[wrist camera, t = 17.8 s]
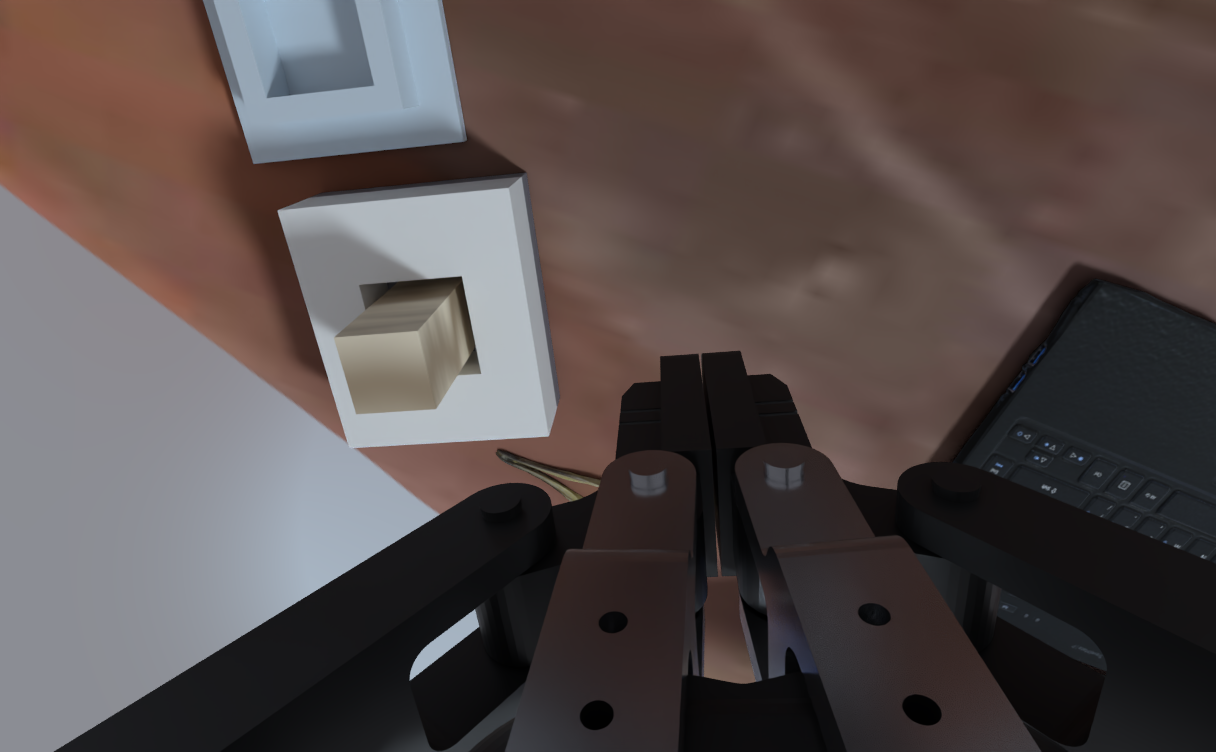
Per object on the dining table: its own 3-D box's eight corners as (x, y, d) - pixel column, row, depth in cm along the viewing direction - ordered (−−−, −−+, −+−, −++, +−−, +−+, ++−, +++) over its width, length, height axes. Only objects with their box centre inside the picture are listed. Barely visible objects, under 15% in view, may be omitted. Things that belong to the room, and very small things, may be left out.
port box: (316, 193, 39) (271, 211, 35) (526, 172, 38) (508, 187, 33) (376, 409, 45) (344, 448, 40) (560, 397, 44) (548, 436, 39)
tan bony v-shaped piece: (501, 431, 46) (496, 447, 44) (679, 488, 47) (681, 506, 46) (484, 479, 48) (479, 496, 46) (657, 532, 49) (658, 551, 47)
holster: (184, -90, 34) (138, -105, 31) (419, -125, 32) (395, -144, 29) (261, 161, 39) (227, 170, 36) (467, 140, 37) (450, 147, 34)
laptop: (1546, 472, 42) (2188, 771, 24) (1124, 816, 57) (1330, 1150, 40) (1085, 264, 38) (1447, 436, 21) (769, 690, 54) (823, 995, 36)
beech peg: (400, 279, 39) (333, 337, 31) (467, 274, 39) (417, 330, 31) (415, 343, 41) (356, 414, 33) (480, 338, 41) (436, 409, 32)
